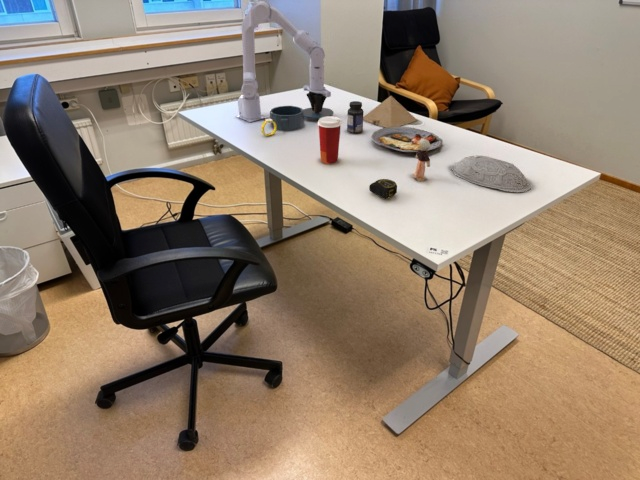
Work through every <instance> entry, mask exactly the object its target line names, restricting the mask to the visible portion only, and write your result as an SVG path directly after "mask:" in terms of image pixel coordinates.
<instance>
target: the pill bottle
mask: <svg viewBox="0 0 640 480" xmlns="http://www.w3.org/2000/svg"><path fill="white" fill-rule="evenodd" d="M362 107H363V102H362V101H357V100H355V101H354V100H353V101H350V102H349V108H348V109H347V112H346V113H347V119H346V131H347V133H348V134H354V135H355V134H357V135H358V134H362V133H363V130H364V120H363V117H364V109H363V108H362Z"/></svg>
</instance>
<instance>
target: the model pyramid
mask: <svg viewBox="0 0 640 480" xmlns="http://www.w3.org/2000/svg"><path fill="white" fill-rule="evenodd" d="M417 121H418V119H417V118H416V117H415V116H414V115H413V114H411V113H410V111H409V110H407V109H406V107H404V106H403V105H402V104H401V103H400V102H398V101H397V100H396V98H395V97H394V96H393V95H390V96H388V97H387V98H386V99H384V100H383V101H382V102H381V103H379V104H377V106H375V108H373V109H372V110H370V111H369V112H368V113H367V114H365V115H363V122H367V123H370V124H372V125H375V126H379V127H382V128H389V127H403V126H404V125H408V124H411V123H413V122H417Z"/></svg>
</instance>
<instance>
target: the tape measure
mask: <svg viewBox="0 0 640 480" xmlns="http://www.w3.org/2000/svg"><path fill="white" fill-rule="evenodd" d="M368 189H369V192H371V193H373V194H374V195H376V196H378V197H379V198H381V199H383V200H387V199H389V198H392V197H395V195H396V194H397V191H398V184H397V183H396V182H395V181H394V180H392V179H388V178H379V179H377V180H376V181H374V182H372V183H370V185H368Z"/></svg>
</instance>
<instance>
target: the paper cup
mask: <svg viewBox="0 0 640 480" xmlns="http://www.w3.org/2000/svg"><path fill="white" fill-rule="evenodd" d="M317 126H318V139H319V140H318V141H319V153H320V162H321V163H323V164H325V165H332V164H336V163H338V160H339V150H340V148H339V147H340V139H341V126H342V121H341V118H339V117H337V116H333V115H332V116H327V117H322V118H320V119H318V121H317Z"/></svg>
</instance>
